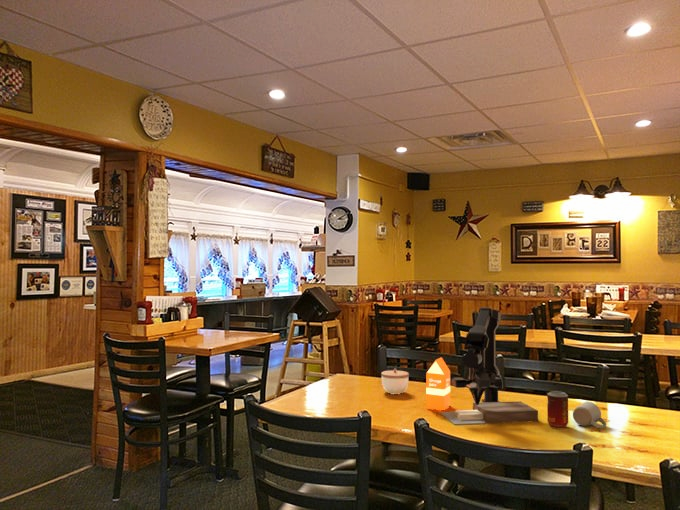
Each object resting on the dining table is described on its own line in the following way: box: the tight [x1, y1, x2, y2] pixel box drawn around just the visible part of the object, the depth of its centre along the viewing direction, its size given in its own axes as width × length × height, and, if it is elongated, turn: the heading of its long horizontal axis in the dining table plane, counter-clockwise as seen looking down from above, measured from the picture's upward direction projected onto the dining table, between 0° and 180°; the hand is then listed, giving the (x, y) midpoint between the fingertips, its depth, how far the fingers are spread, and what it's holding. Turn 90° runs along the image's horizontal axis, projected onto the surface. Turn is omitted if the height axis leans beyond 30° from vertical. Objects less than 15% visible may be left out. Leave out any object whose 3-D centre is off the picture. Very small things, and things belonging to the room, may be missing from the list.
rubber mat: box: [440, 411, 487, 426], centre depth 205 cm, size 16×12×1 cm
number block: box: [454, 409, 483, 420], centre depth 205 cm, size 6×9×2 cm, turn 96°
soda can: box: [546, 390, 569, 430], centre depth 196 cm, size 7×7×12 cm
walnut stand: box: [472, 400, 539, 424], centre depth 208 cm, size 14×20×4 cm
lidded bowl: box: [380, 368, 410, 395], centre depth 247 cm, size 13×13×11 cm
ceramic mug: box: [572, 401, 607, 430], centre depth 197 cm, size 11×8×8 cm
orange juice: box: [425, 357, 451, 411], centre depth 222 cm, size 8×9×20 cm
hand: (477, 404), depth 206 cm, fingers closed
